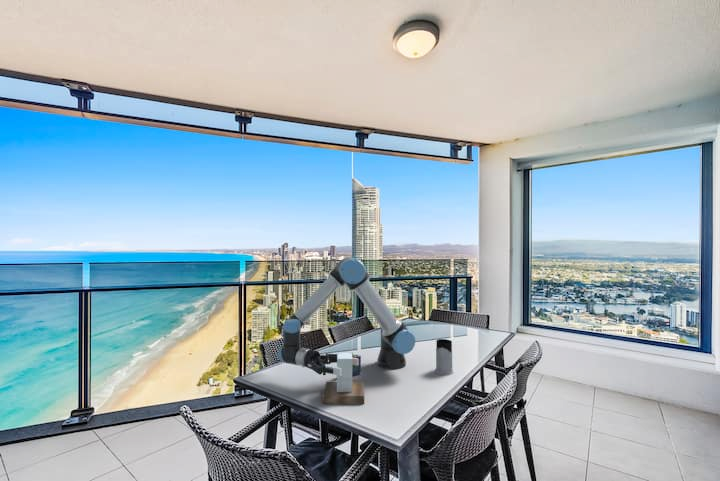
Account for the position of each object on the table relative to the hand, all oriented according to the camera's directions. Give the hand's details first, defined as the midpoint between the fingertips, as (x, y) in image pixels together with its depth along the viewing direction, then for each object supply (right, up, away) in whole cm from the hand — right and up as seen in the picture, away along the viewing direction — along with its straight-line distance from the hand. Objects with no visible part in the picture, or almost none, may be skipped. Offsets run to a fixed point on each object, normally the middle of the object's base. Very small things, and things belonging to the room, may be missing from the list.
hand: (350, 367), depth 125 cm
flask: (0, -14, +23) cm, 26 cm away
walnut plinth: (-2, -12, +1) cm, 12 cm away
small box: (-2, -9, +1) cm, 10 cm away
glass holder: (+48, -15, +31) cm, 59 cm away
